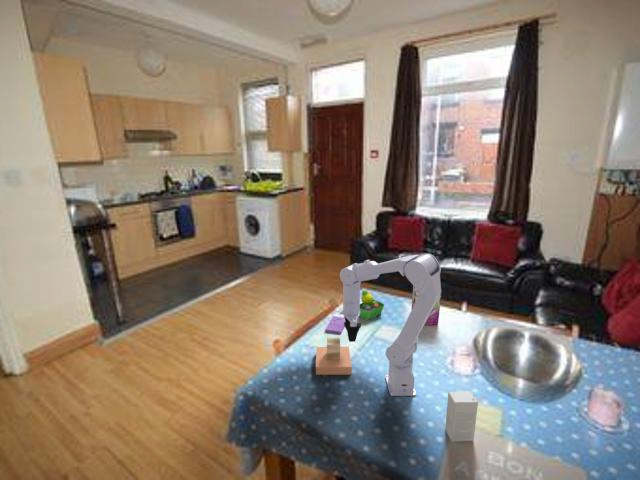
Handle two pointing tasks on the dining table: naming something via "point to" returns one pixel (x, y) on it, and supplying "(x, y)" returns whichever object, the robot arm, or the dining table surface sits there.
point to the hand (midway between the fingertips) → (350, 335)
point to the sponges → (336, 325)
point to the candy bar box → (434, 313)
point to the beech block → (333, 348)
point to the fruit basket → (369, 306)
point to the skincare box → (461, 416)
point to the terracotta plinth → (333, 362)
